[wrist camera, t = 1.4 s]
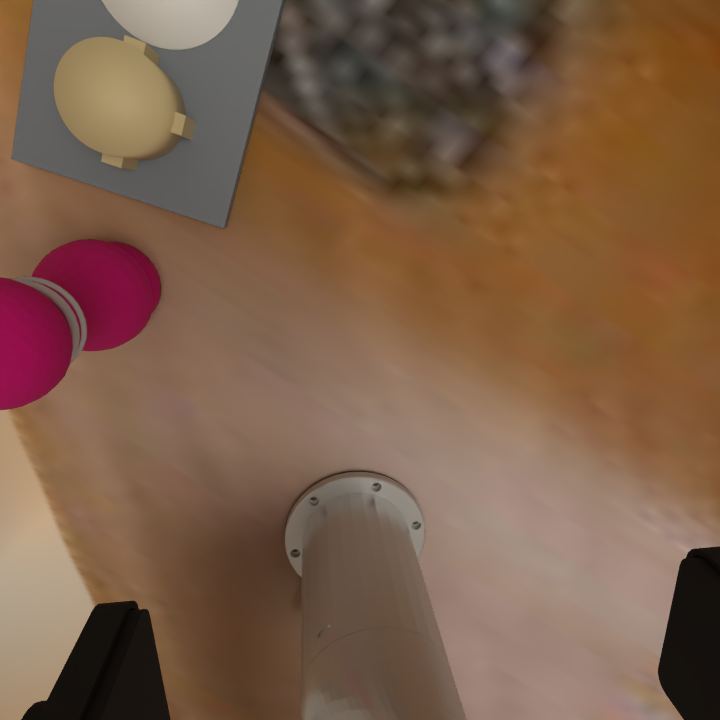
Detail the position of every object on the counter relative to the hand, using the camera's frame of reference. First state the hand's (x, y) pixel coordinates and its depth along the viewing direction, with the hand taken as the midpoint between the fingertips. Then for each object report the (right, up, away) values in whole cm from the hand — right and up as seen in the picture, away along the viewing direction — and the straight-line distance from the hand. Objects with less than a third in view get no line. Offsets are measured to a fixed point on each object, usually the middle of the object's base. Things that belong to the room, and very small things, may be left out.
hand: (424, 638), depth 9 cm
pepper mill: (-19, +11, +29) cm, 37 cm away
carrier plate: (-14, +25, +25) cm, 38 cm away
